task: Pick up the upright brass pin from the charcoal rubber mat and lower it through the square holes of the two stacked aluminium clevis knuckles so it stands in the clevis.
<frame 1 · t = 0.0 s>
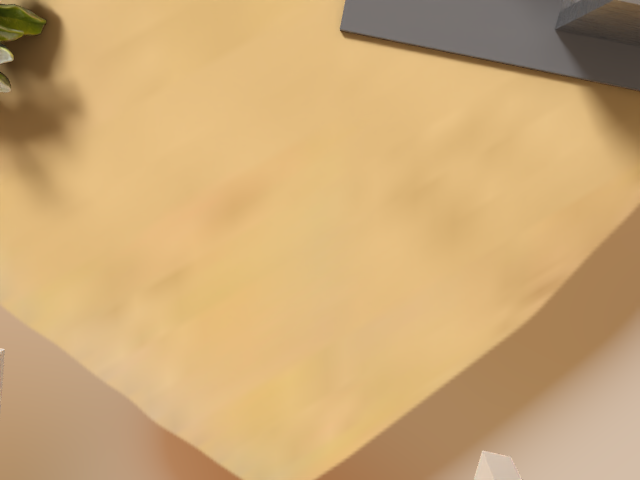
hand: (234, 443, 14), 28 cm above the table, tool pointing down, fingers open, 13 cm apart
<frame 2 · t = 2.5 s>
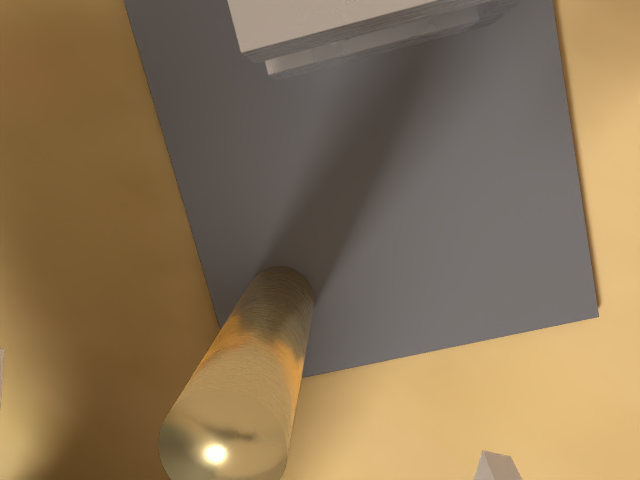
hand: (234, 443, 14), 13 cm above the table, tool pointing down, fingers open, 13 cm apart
mat: (359, 115, 25), on the table
pin: (280, 298, 27), resting on mat
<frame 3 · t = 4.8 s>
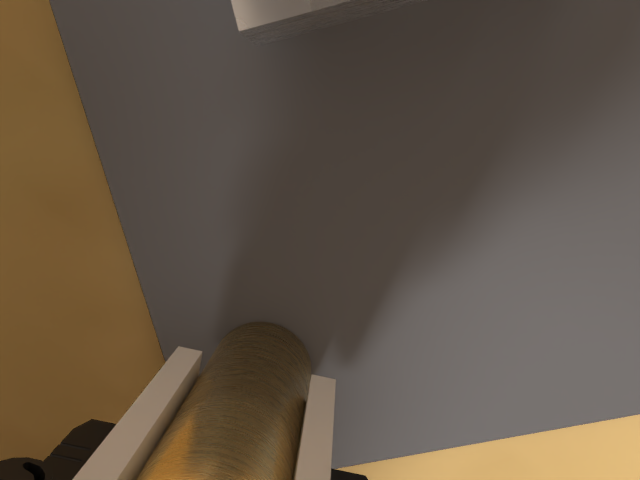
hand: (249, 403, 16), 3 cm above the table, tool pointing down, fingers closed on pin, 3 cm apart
mat: (381, 99, 17), on the table
pin: (262, 368, 18), point 1 cm above the table, touching gripper
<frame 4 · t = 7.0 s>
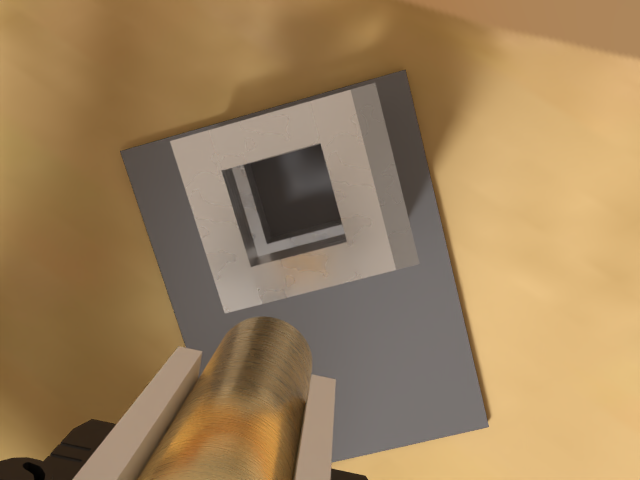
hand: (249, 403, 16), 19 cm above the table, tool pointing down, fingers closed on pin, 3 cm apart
mat: (312, 292, 35), on the table
clevis: (297, 190, 34), resting on mat
pin: (264, 361, 19), point 16 cm above the table, touching gripper
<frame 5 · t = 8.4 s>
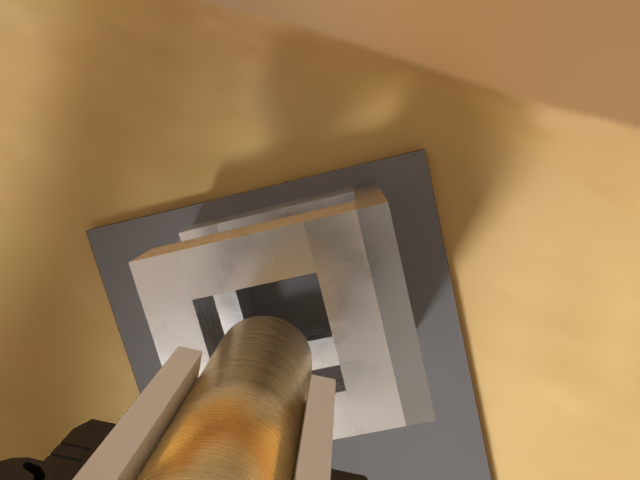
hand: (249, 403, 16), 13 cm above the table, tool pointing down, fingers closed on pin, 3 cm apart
mat: (306, 396, 31), on the table
clevis: (292, 283, 29), resting on mat
pin: (264, 360, 19), point 10 cm above the table, touching gripper
when the fingers open (10 cm above the table, at t = 9.6 s): pin drops 6 cm, resting on mat.
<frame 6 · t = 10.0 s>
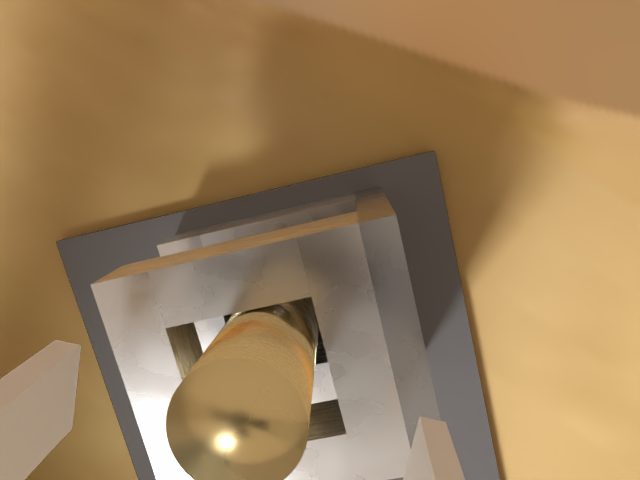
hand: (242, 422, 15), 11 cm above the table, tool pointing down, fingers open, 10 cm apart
mat: (302, 424, 28), on the table
clevis: (286, 300, 26), resting on mat
pin: (286, 302, 25), point 1 cm above the table, tilted 5°, touching mat
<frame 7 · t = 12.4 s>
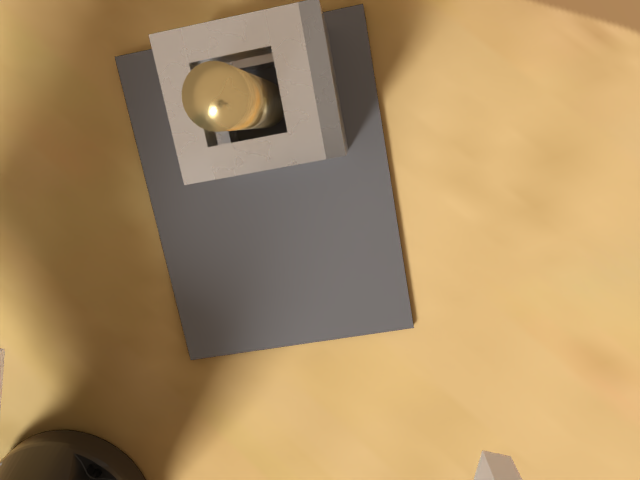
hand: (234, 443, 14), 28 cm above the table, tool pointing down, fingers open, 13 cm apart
mat: (270, 196, 41), on the table
clevis: (263, 104, 39), resting on mat
pin: (263, 104, 39), point 1 cm above the table, touching mat
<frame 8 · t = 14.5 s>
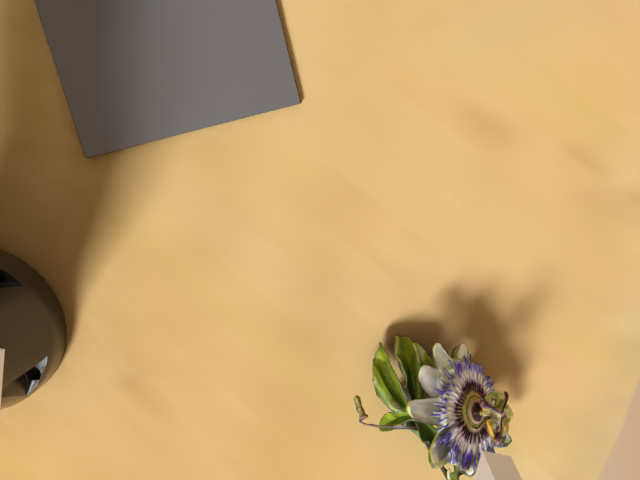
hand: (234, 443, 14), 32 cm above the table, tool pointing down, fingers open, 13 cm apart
passion flower: (429, 385, 48), on the table
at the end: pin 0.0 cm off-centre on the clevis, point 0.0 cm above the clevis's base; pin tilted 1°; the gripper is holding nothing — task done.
